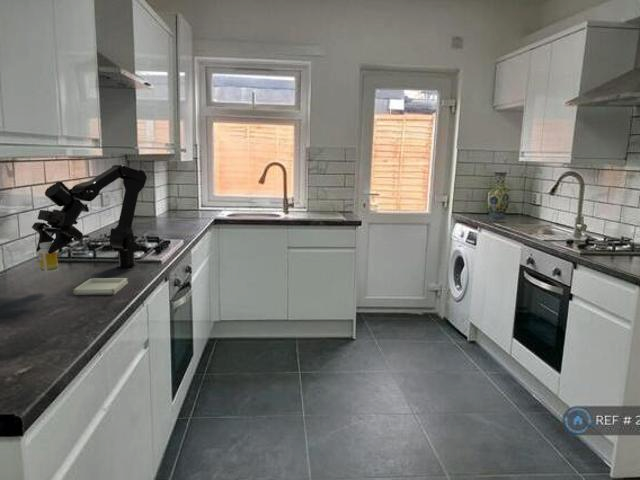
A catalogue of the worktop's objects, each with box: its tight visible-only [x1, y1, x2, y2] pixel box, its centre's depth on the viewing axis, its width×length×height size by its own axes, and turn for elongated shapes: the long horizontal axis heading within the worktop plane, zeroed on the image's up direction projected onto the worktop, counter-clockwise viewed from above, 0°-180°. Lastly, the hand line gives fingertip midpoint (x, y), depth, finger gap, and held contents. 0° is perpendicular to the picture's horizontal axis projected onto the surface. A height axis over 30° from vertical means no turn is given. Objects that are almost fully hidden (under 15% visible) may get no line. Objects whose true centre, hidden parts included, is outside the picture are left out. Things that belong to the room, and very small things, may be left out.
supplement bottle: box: [37, 241, 59, 274], centre depth 162 cm, size 5×5×10 cm
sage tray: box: [73, 277, 129, 296], centre depth 164 cm, size 13×13×2 cm
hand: (43, 252), depth 160 cm, fingers closed on supplement bottle, 5 cm apart
